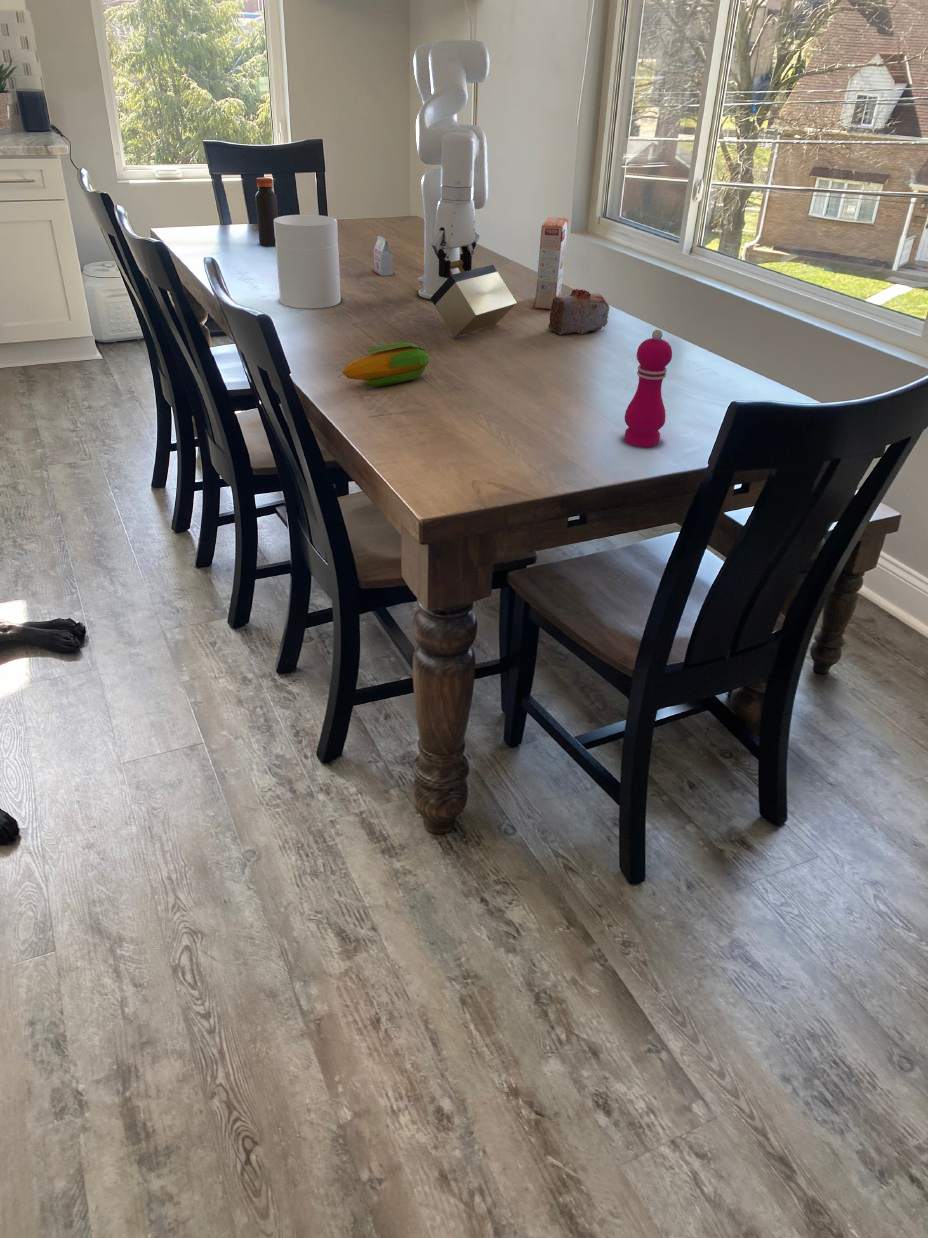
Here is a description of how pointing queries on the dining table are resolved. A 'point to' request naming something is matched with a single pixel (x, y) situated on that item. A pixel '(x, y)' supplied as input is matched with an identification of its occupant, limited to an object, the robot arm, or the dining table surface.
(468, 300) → the box
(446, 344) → the dining table surface
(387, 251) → the milk carton
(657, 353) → the pepper mill
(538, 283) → the cracker box
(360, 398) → the dining table surface
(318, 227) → the canister
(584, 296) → the food item
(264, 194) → the bottle
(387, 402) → the dining table surface
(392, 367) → the corn
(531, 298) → the dining table surface
